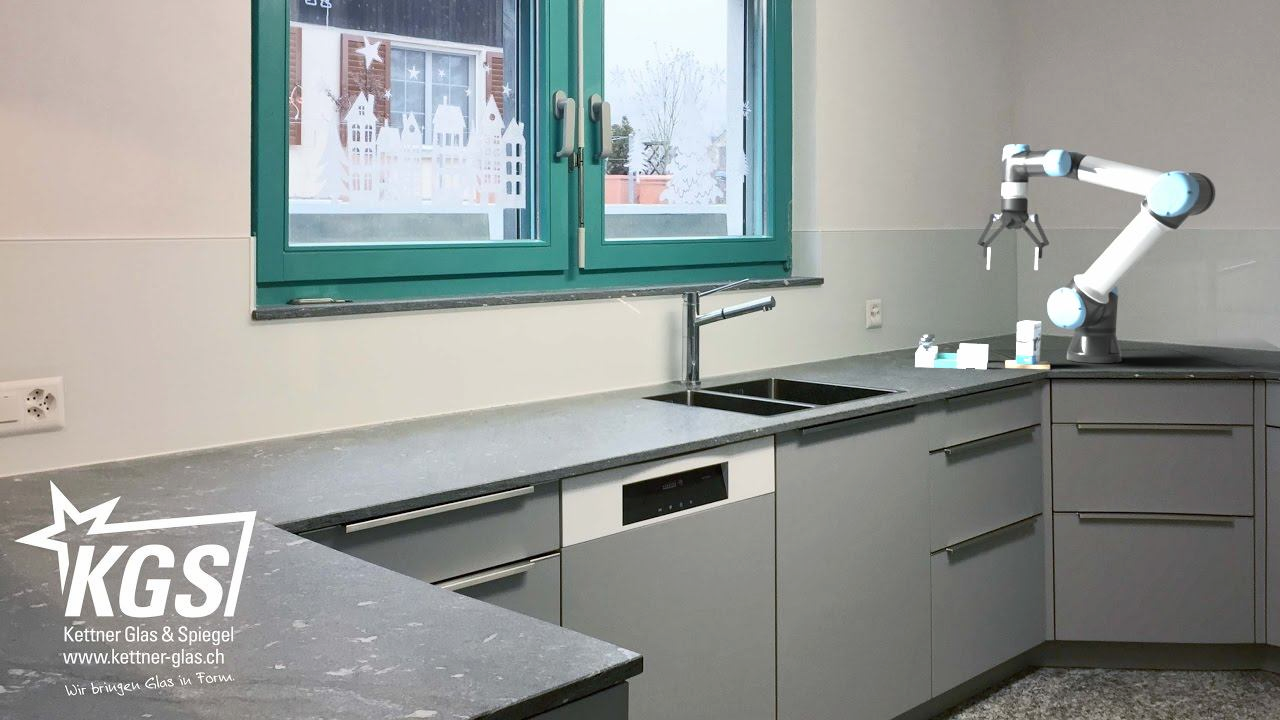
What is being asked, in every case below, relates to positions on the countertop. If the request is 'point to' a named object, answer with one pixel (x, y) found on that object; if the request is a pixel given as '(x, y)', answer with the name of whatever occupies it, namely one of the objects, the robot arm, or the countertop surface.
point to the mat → (1035, 366)
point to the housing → (954, 357)
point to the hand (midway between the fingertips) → (1012, 269)
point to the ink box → (1028, 342)
